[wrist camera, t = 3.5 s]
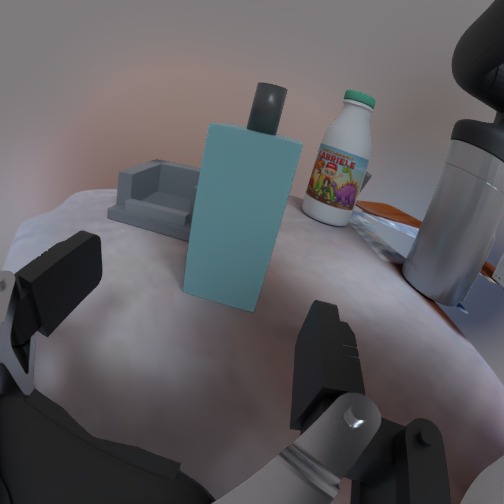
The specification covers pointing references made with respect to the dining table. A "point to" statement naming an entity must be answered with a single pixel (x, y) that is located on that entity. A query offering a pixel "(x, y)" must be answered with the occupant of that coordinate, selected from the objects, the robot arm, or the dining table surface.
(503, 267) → the skincare box
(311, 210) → the milk bottle
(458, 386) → the dining table surface
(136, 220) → the socket
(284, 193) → the plug
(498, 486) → the canister
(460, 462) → the dining table surface
